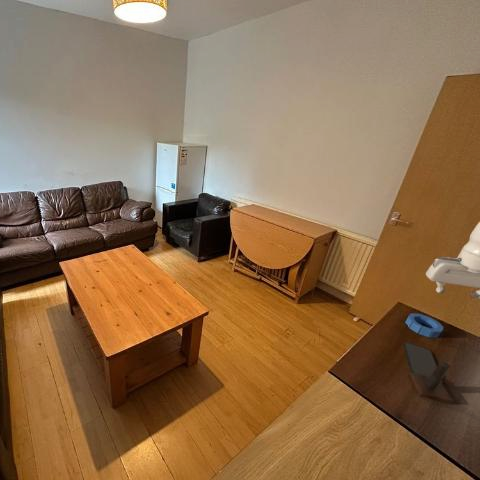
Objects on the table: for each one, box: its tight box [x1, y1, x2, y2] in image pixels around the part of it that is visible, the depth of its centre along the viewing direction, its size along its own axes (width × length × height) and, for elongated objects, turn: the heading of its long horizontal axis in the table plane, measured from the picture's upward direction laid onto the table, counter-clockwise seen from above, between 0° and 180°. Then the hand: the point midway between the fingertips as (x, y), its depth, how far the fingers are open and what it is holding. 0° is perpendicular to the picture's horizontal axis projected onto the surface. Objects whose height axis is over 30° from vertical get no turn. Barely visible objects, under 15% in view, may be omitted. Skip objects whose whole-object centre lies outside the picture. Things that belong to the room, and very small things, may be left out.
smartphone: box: [402, 342, 444, 385], centre depth 82 cm, size 7×1×15 cm
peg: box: [407, 360, 455, 405], centre depth 72 cm, size 7×7×10 cm
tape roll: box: [405, 313, 445, 339], centre depth 95 cm, size 9×10×3 cm
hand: (456, 294), depth 88 cm, fingers open, 8 cm apart
